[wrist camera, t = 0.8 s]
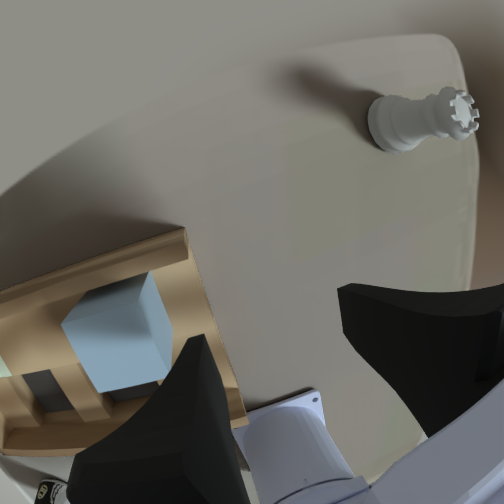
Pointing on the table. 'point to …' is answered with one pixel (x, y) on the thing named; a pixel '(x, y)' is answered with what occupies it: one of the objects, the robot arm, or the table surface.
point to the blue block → (121, 333)
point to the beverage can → (51, 492)
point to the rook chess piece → (421, 119)
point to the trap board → (67, 363)
